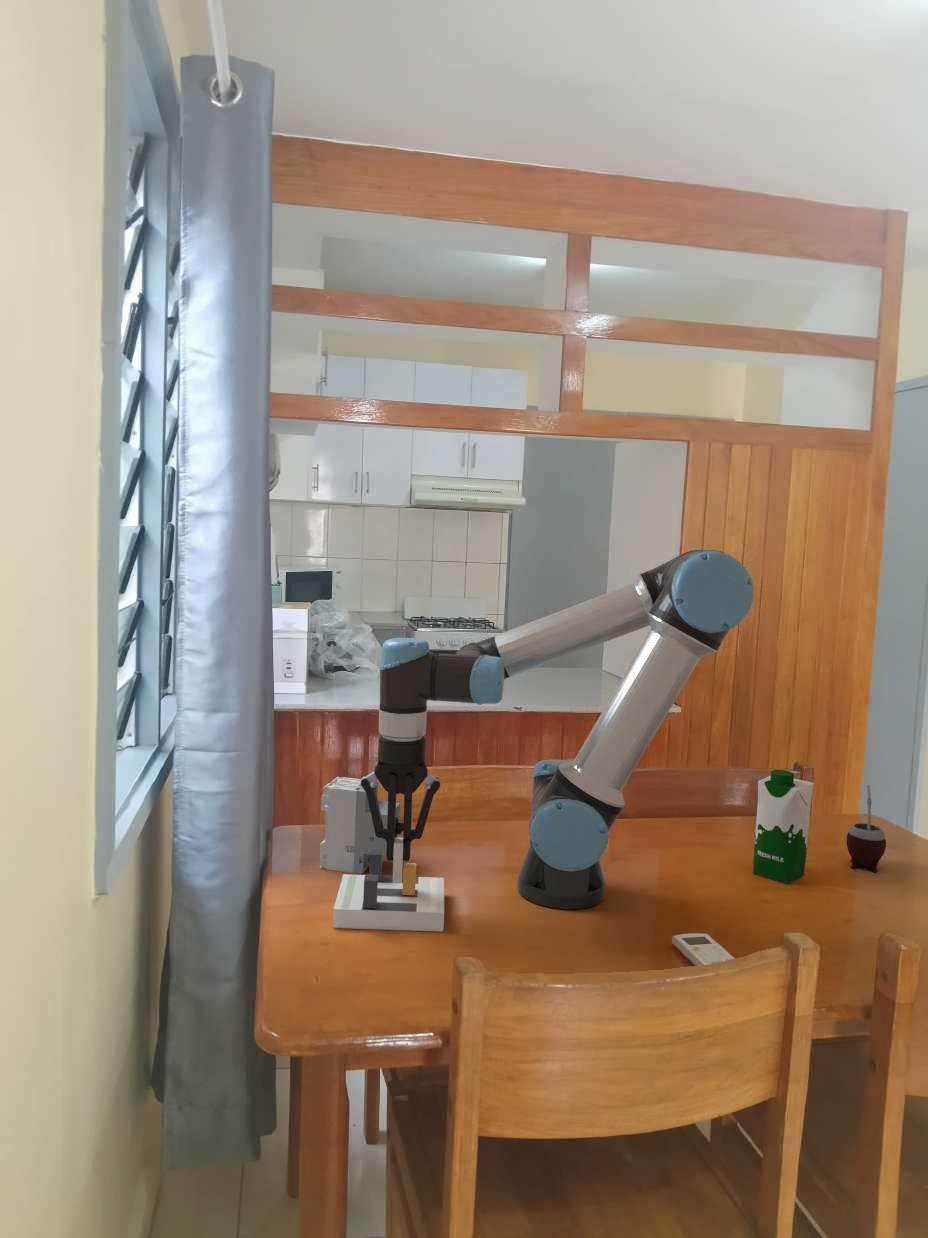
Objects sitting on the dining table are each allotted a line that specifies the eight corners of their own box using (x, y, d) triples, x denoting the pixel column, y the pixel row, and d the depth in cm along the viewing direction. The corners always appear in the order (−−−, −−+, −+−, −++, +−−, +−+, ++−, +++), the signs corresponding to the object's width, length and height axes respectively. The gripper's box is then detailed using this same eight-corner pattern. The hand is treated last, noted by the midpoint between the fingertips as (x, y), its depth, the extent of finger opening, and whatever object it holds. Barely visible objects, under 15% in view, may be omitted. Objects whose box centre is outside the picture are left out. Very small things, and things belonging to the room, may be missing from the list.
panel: (443, 895, 151) (443, 877, 151) (443, 931, 137) (444, 912, 137) (342, 891, 151) (343, 874, 150) (332, 928, 137) (333, 908, 137)
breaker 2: (377, 902, 139) (378, 874, 139) (376, 908, 137) (377, 880, 137) (364, 901, 139) (365, 874, 139) (363, 908, 137) (364, 880, 137)
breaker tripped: (415, 889, 145) (416, 863, 145) (414, 895, 143) (415, 868, 142) (403, 889, 145) (404, 862, 145) (402, 895, 143) (403, 868, 142)
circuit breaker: (395, 878, 158) (398, 795, 156) (319, 868, 160) (321, 787, 159) (406, 863, 165) (410, 784, 164) (333, 854, 168) (336, 776, 166)
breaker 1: (381, 875, 150) (382, 850, 150) (380, 880, 148) (381, 855, 148) (369, 874, 150) (370, 849, 150) (368, 880, 148) (369, 854, 147)
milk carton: (746, 873, 168) (754, 769, 166) (766, 862, 174) (774, 762, 173) (791, 887, 162) (800, 780, 160) (811, 875, 168) (820, 772, 167)
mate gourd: (864, 875, 170) (871, 798, 168) (833, 861, 177) (839, 787, 176) (893, 871, 172) (900, 796, 171) (861, 857, 180) (868, 784, 178)
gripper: (443, 732, 145) (438, 872, 147) (363, 729, 145) (359, 869, 147) (443, 742, 138) (437, 890, 140) (358, 740, 137) (354, 887, 140)
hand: (397, 879), depth 144 cm, fingers closed
